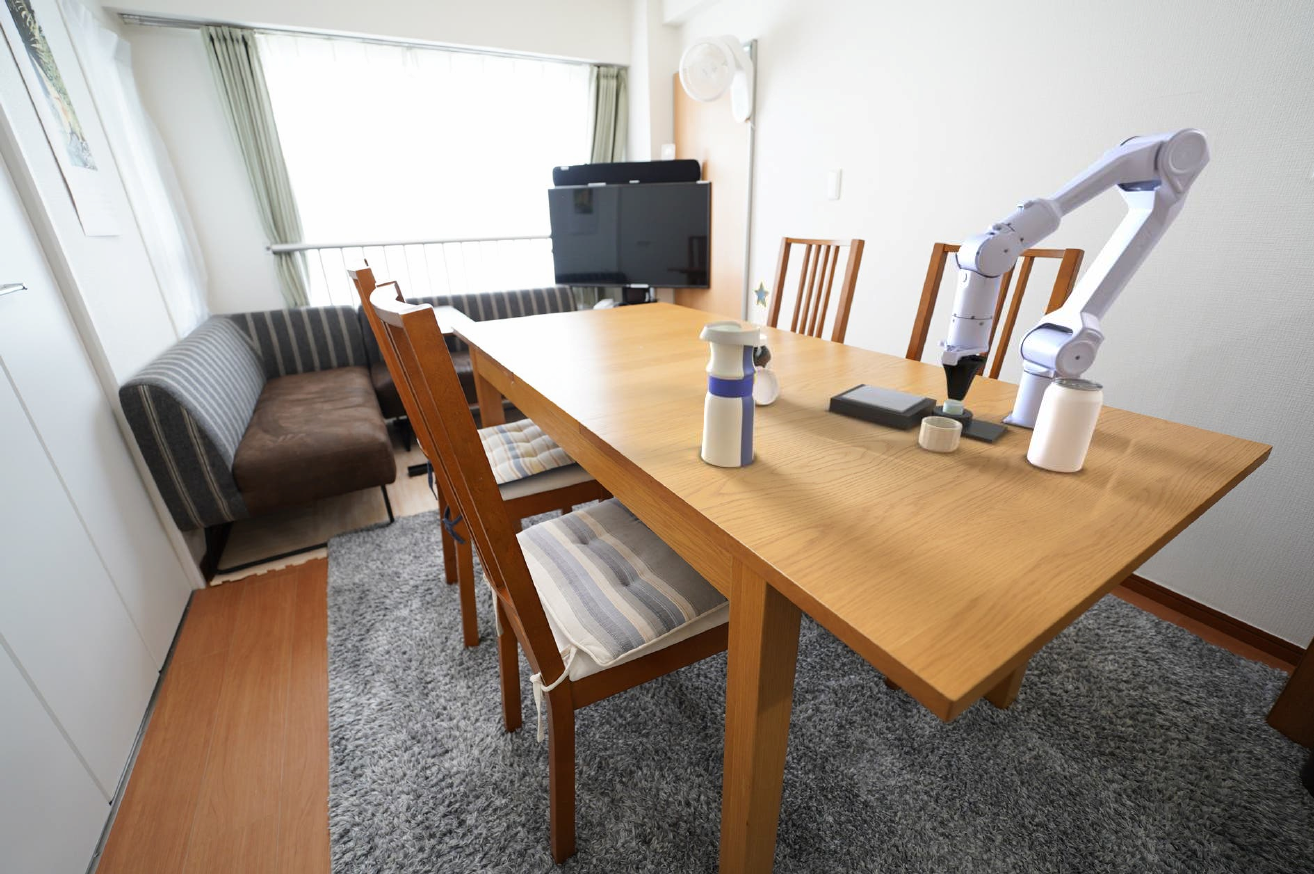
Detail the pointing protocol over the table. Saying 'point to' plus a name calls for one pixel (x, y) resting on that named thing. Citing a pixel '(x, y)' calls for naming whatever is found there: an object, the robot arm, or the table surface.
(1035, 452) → the can
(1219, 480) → the table surface
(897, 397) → the scale
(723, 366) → the water bottle
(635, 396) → the table surface
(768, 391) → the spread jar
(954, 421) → the bowl
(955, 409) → the button
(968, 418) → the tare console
